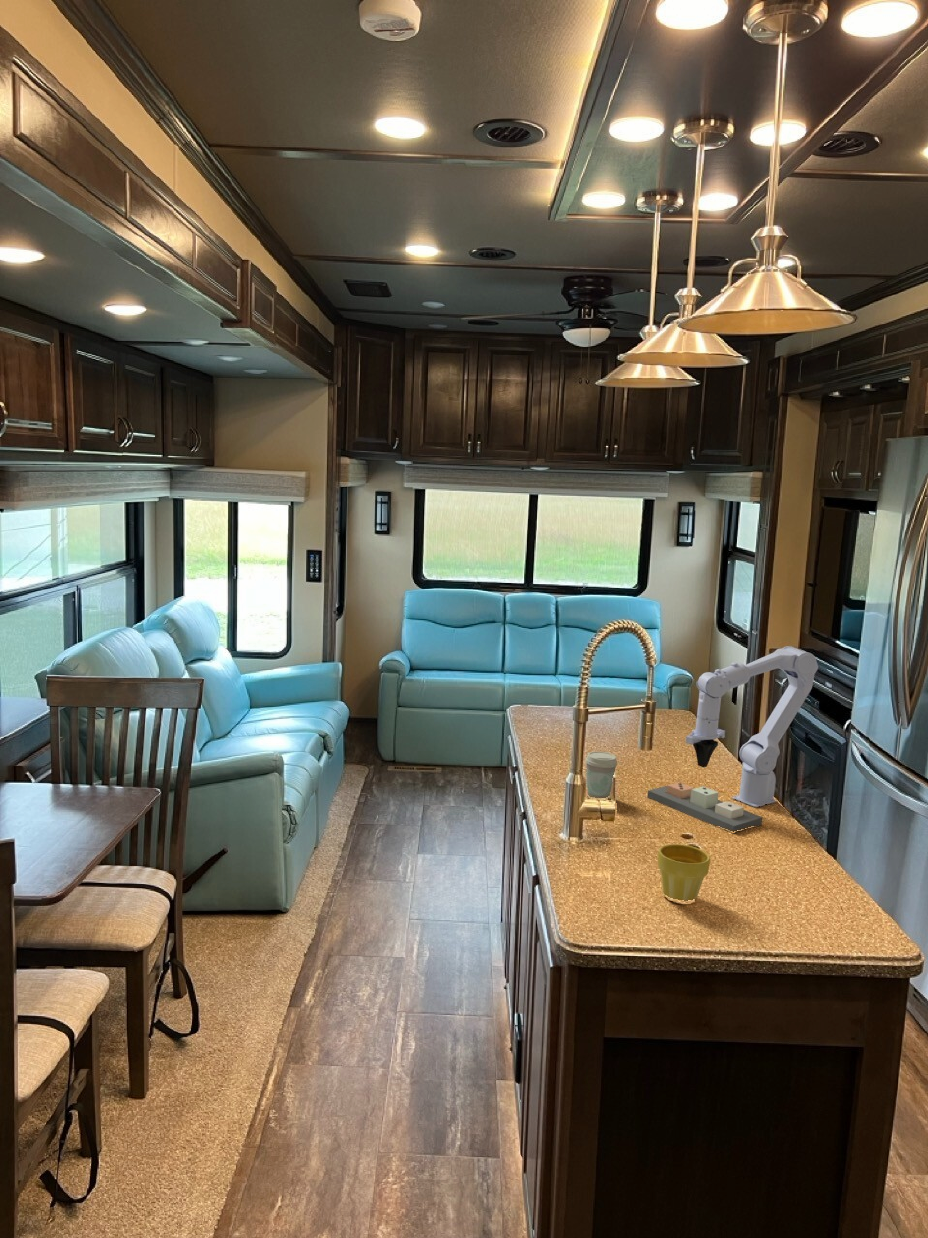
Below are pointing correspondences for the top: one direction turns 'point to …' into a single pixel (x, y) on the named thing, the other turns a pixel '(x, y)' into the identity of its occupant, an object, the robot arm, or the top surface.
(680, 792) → the key three
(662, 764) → the top surface
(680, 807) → the keypad board
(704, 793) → the key two
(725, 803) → the key one
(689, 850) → the plant pot
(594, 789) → the coffee cup
